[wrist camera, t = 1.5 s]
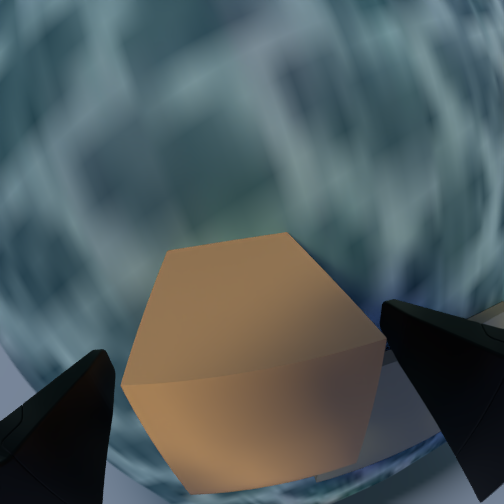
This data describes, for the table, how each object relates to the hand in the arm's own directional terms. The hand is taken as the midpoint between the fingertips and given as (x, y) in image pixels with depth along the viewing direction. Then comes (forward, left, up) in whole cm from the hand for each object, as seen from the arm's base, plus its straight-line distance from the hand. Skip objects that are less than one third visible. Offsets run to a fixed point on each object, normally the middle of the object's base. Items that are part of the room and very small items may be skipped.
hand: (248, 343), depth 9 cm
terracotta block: (0, 0, -3) cm, 3 cm away
